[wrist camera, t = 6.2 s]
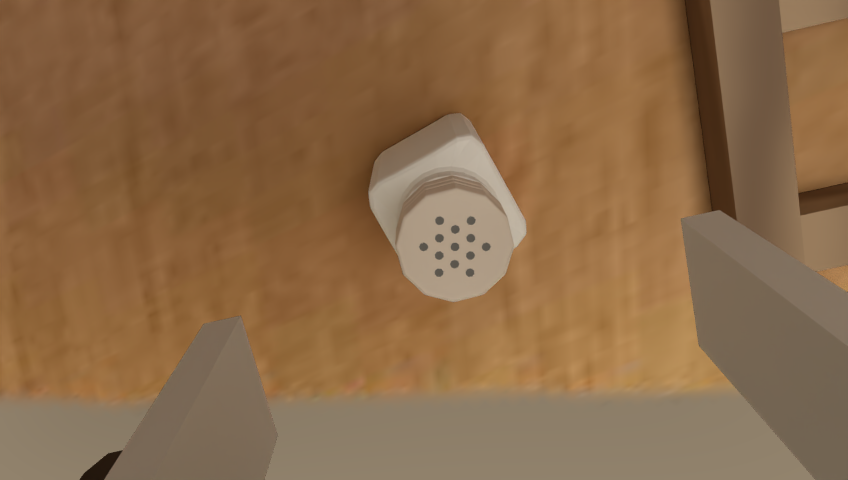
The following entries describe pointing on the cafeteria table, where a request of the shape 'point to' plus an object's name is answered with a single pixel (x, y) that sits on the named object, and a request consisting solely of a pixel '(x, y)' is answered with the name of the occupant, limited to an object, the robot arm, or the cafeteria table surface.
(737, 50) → the board
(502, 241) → the pepper shaker
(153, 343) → the cafeteria table surface
